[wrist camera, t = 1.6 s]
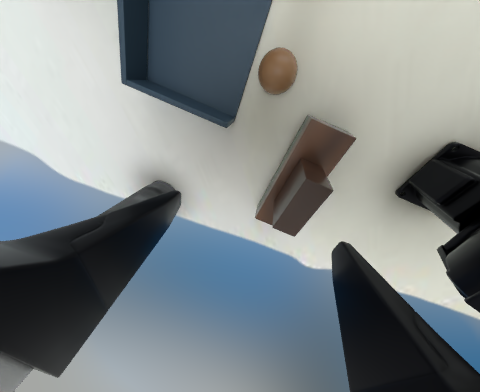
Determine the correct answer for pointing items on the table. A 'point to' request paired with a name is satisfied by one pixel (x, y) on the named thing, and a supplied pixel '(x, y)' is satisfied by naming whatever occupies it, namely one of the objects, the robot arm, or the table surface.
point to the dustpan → (191, 51)
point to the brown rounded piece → (277, 71)
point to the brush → (303, 176)
